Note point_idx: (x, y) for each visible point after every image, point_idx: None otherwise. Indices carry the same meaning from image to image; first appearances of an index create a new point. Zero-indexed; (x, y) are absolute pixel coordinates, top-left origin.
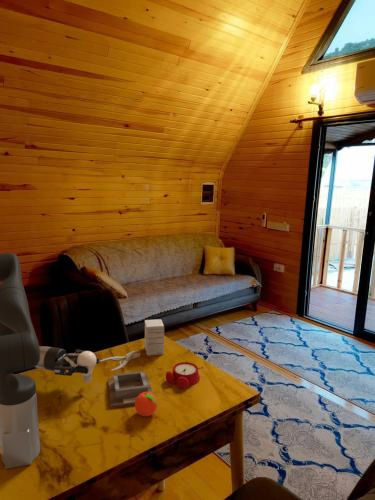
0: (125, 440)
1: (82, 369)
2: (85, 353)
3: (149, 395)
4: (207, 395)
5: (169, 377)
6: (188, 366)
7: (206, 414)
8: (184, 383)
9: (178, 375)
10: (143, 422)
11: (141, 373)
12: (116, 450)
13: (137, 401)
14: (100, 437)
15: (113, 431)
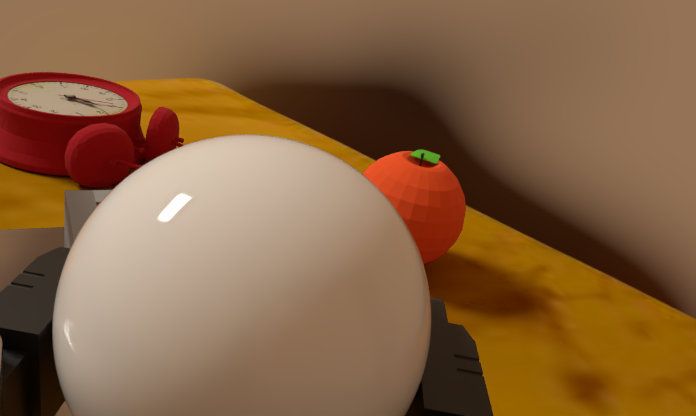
0: (589, 310)
1: (475, 351)
2: (329, 164)
3: (425, 153)
4: (220, 129)
5: (125, 148)
6: (39, 89)
7: (333, 147)
8: (178, 131)
9: (126, 121)
10: (452, 265)
11: (103, 198)
12: (658, 330)
13: (453, 203)
14: (652, 395)
15: (576, 352)
